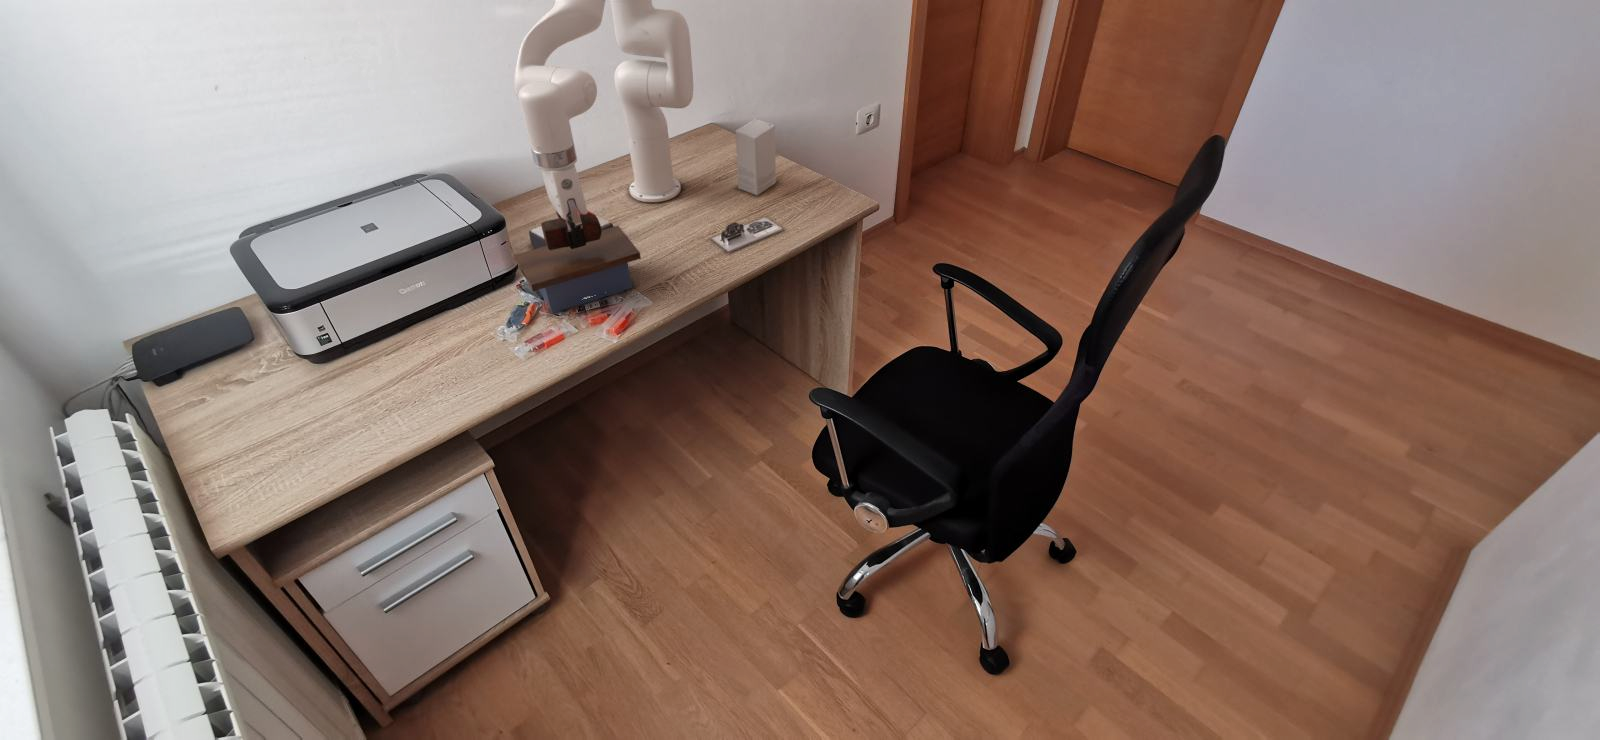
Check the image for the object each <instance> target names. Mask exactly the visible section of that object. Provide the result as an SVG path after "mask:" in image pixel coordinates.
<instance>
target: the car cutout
mask: <svg viewBox="0 0 1600 740" xmlns="http://www.w3.org/2000/svg"><path fill="white" fill-rule="evenodd" d="M782 231H783V227H781V226H780V225H778V224H777V223H775V222H773V221H772V220H771V219H769V218H768V217H767V216H764V217H761V218H759V219H757V220H755V221H754V220H753V221H752V222H749V223H747V224H744V225H743V223H740V224H739V222H738V221H734V222H732V223H729V224H727V225H726V227H725V229H724V230H722V232H721V233H720V234H719V235H716V236H713V237H712V241H714V242H715V243H716V244H717V245H719V246H720V247H721V248H723V249H724V250H725V251H727V252H728V253H732V252H734V251H736V250H739V249H741V248H743V247H746V246H748V245H751V244H753V243H756V242H758V241H761V240H762V239H765V238H768V237H769V236H772V235H775V234H777V233H779V232H782Z"/></svg>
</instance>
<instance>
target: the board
mask: <svg viewBox="0 0 1600 740" xmlns="http://www.w3.org/2000/svg"><path fill="white" fill-rule="evenodd" d="M601 231H602V233H601V237H600V239H599V240H595V241H591V242H586V245H585V246H582V247H579V248H575V249H571V248H570V246H569V247H564V248H559V249H554V250H549V249H548V247H547V246H544V247H541V248H534V249H530V250H527V251H523V252H519V253H516V254H513V256H514V261H515V262H516V263H515V264H517V266H518V268H519V270H520V271H521V273H522V274H523V276H524V278H525V280H526V282H527V283H528V285H529V287H530V289H531V291H532V292H536V291H539V289H542V288H546V287H549V286H552V285H556V284H559V283H562V282H565V281H569V280H572V279H575V278H579V277H582V276H585V275H588V274H592V273H595V272H598V271H602V270H605V269H608V268H612V267H615V266H618V265H621V264H625V263H628V264H629V263H631V262H634V261H638V260H641V259H642V256H641V252H640V251H639V249H638V248H637V247H636V246H635V245H634V243H633V242H632V240H630V238H629V237H628V236H627V234H626V233H625V232H624V231H623V230H622V228H621V227H620V226H619V225H616V226H613V227H612V228H608V229H605V230H601Z"/></svg>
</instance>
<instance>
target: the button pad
mask: <svg viewBox="0 0 1600 740" xmlns="http://www.w3.org/2000/svg"><path fill="white" fill-rule="evenodd" d="M578 211H579V209H578ZM587 211H588V212H587V213H591V214H593V215H594V216H596V217H597V218H598V220H599V223H600V226H601V230H605V229H608V228H612V227H614V224H613V223H611V222H610V221H608V220H607V219H605V218H603V217H601V216H599V215H596V214H595V213H594V212H591V211H589V210H588V209H587ZM579 214H582V213H581V212H580V211H579ZM560 218H561V217H560ZM556 219H559V218H558V217H557V218H556ZM528 234H529V235H528V236H529V239H530V244H531V246H532V247H533V248H534V249H537V248H541V247H544V246H547V244H546V242H545V239H544V235H543V231H542V227H541V225H540V226H537V227H535V228H533V229H531V230H529V231H528Z"/></svg>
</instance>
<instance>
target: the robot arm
mask: <svg viewBox="0 0 1600 740" xmlns="http://www.w3.org/2000/svg"><path fill="white" fill-rule="evenodd" d="M606 1H607V0H555V1H554V4H553V6H552V8H551V9H550V10H549V11H548V12H546V13H545V14H544V15H543V16H542V17H541V18H539V20H537V21H536V23H535V24H534V25H533V26H532V27H531V29H530V30H529V31H528V32H527V33H526V35H525V36H524V38H523V40H522V41H521V44H520V47H519V51H518V53H517V54H518V55H517V60H516V64H515V70H514V78H513V79H514V81H513V82H514V83H513V84H514V85H513V86H514V92H515V95H516V97H517V99H518V102H519V106H520V110H521V115H522V118H523V123H524V126H525V131H526V135H527V139H528V142H529V147H530V151H531V154H532V158H533V163H534V166H535V167H536V168H537V169H538V170H540V171H541V174H542V178H543V182H544V183H543V184H544V186H545V191H546V194H547V198H548V200H549V202H550V203H551V205H552V206H553V208H554V210H555V213H556V216H557V218H559V219H560V217H561V218H563V219H564V220H565V223H566V227H567V230H566V234H567V238H568V242H569V246H570V248H571V249H575V248H579V247H582V246H585V245H586V240H585V235H584V230H583V226H582V222H581V219H580V215H579V211H580V212H581V213H582V215H584V214H585V215H586V214H587V212H588V211H589V210H588V208H587V203H586V199H585V195H584V192H583V188H582V184H581V181H580V177H579V174H578V171H577V168H576V163H577V161H578V157H577V152H576V151H577V150H576V147H575V146H576V145H575V142H574V137H573V133H572V129H571V123H570V120H571V119H573V118H575V117H578V116H580V115H582V114H584V113H586V112H587V111H589V110H590V109H591V108H592V107H593V105H594V104H595V102H596V99H597V96H598V87H597V83H596V81H595V79H594V77H593V76H592V74H590V73H588V72H587V71H585V70H582V69H578V68H570V67H561V66H560V67H559V66H549V65H546V63H547V60H548V59H549V57H550V56H551V55H552V54H553V53H554V52H555V51H556V50H557V49H559V48H560V47H561V46H564V45H565V44H567V43H569V42H573V41H575V40H577V39H580V38H582V37H584V36H586V35H589V34H591V33H593V32H595V31H596V30H598V29H599V28H600V27H601V24H602V22H603V17H604V16H603V15H604V11H605V5H606ZM610 6H611V13H612V14H611V15H612V21H613V22H612V23H613V28H614V35H615V40H616V45H617V46H618V49H619V50H621V52H623V53H625V54H628V55H632V56H639V57H650V58H662V59H664V60H665V61H656V60H646V59H628V60H624V61H622V62H621V63H619V65H617V67H616V69H615V71H614V77H613V81H614V82H613V83H614V87H615V91H616V93H617V96H618V99H619V102H620V105H621V109H622V113H623V117H624V123H625V128H626V133H627V134H626V135H627V136H626V137H627V141H628V148H629V155H630V161H631V167H632V173H633V180H634V181H632V182H631V184H630V185H629V188H628V190H629V194H630V196H631V197H632V198H634V199H635V200H637V201H639V202H643V203H662V202H665V201H669V200H671V199H673V198H675V197H676V196H678V195H679V194H680V192H681V188H682V187H681V182H680V181H679V180H678V179H677V178H676V177H674V171H673V164H672V154H671V146H670V138H669V137H670V136H669V129H668V127H669V126H668V121H667V118H666V116H665V114H664V112H663V110H662V109H661V108H667V109H668V108H669V109H684V108H686V107H689V105H691V102H692V100H693V98H694V97H693V96H694V74H693V73H694V72H693V59H692V47H691V46H692V45H691V35H690V28H689V25H688V23H687V20H686V18H685V17H684V16H683V15H682V14H681V13H680V12H679V11H676V10H673V9H661V8H655V7H654V5H653V1H652V0H610ZM578 209H579V211H578ZM587 210H588V211H587ZM569 219H572V220H573V222H571V223H569Z"/></svg>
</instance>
